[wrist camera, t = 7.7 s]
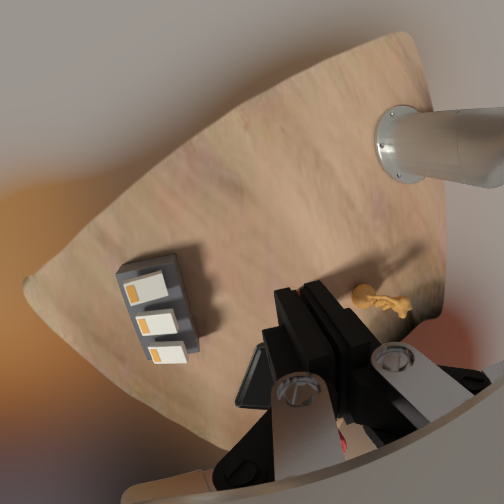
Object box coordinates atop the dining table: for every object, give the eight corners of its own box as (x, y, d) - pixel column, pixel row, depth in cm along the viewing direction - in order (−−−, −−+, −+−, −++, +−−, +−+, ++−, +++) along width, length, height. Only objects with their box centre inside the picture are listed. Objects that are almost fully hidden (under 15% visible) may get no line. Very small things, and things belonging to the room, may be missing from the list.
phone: (233, 407, 48) (258, 344, 45) (233, 403, 50) (257, 340, 46) (273, 410, 50) (302, 350, 47) (272, 406, 51) (300, 346, 48)
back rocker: (184, 338, 38) (180, 346, 36) (189, 355, 39) (187, 363, 37) (151, 339, 38) (147, 347, 37) (157, 356, 39) (154, 363, 38)
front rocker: (160, 268, 36) (162, 273, 34) (167, 290, 36) (168, 295, 35) (123, 279, 34) (123, 284, 32) (130, 300, 35) (130, 306, 33)
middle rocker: (173, 306, 36) (170, 313, 35) (179, 325, 37) (177, 333, 36) (139, 310, 37) (135, 317, 35) (146, 329, 37) (142, 336, 36)
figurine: (333, 294, 45) (370, 334, 34) (351, 260, 44) (394, 293, 33) (369, 308, 47) (407, 345, 36) (386, 277, 46) (429, 309, 35)
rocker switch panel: (175, 253, 39) (173, 262, 36) (199, 338, 44) (199, 351, 40) (121, 264, 38) (115, 274, 35) (150, 346, 43) (147, 360, 39)
